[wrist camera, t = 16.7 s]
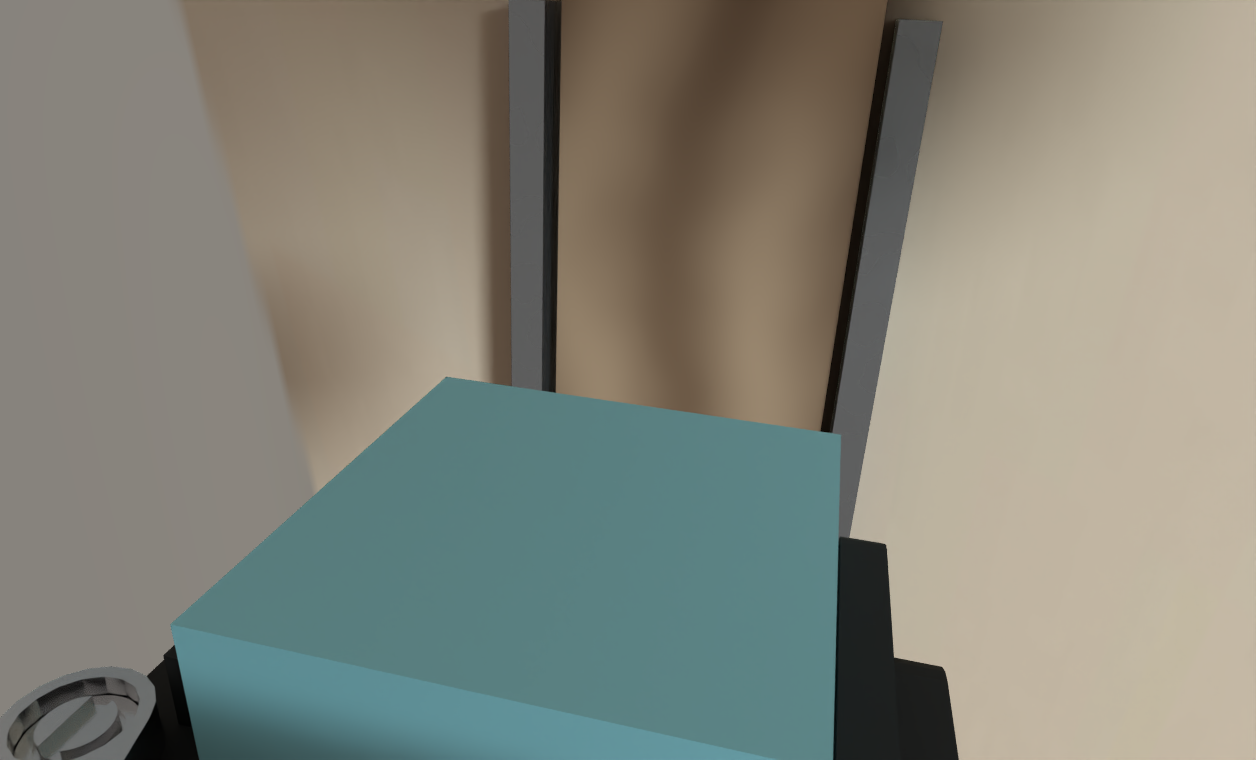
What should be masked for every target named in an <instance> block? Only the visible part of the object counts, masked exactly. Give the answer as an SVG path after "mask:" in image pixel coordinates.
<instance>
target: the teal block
mask: <svg viewBox="0 0 1256 760" xmlns="http://www.w3.org/2000/svg"><path fill="white" fill-rule="evenodd" d="M840 455H841V435H840V434H833V433H826V432H819V431H813V430H806V429H799V428H792V427H785V426H779V425H772V424H765V423H758V422H751V421H744V420H738V419H731V418H724V417H717V416H710V415H703V414H697V413H690V412H683V411H676V410H669V409H663V408H656V407H649V406H642V405H635V404H628V403H622V402H615V401H608V400H601V399H594V398H588V397H581V396H574V395H567V394H560V393H553V392H547V391H540V390H533V389H526V388H519V387H512V386H506V385H499V384H492V383H485V382H478V381H472V380H465V379H458V378H451V377H446V378H445V379H443V380H442V381H441V382H440V383H439V384H438V385H437V386H436V387H435V388H433V389H432V390H431V391H430V392H429V393H428V394H427V395H426V396H424V397H423V398H422V399H421V400H420V401H419V402H418V403H417V404H416V405H414V406H413V407H412V408H411V409H410V410H409V411H408V412H407V413H406V414H404V415H403V416H402V417H401V418H400V419H399V420H398V421H397V422H395V423H394V424H393V425H392V426H391V427H390V428H389V429H388V430H387V431H385V432H384V433H383V434H382V435H381V436H380V437H379V438H378V439H377V440H375V441H374V442H373V443H372V444H371V445H370V446H369V447H368V448H367V449H365V450H364V451H363V452H362V453H361V454H360V455H359V456H358V457H356V458H355V459H354V460H353V461H352V462H351V463H350V464H349V465H348V466H346V467H345V468H344V469H343V470H342V471H341V472H340V473H339V474H338V475H336V476H335V477H334V478H333V479H332V480H331V481H330V482H329V483H327V484H326V485H325V486H324V487H323V488H322V489H321V490H320V491H319V492H317V493H316V494H315V495H314V496H313V497H312V498H311V499H310V500H309V501H307V502H306V503H305V504H304V505H303V506H302V507H301V508H300V509H299V510H297V511H296V512H295V513H294V514H293V515H292V516H291V517H290V518H288V519H287V520H286V521H285V522H284V523H283V524H282V525H281V526H280V527H278V528H277V529H276V530H275V531H274V532H273V533H272V534H271V535H269V536H268V537H267V538H266V539H265V540H264V541H263V542H262V543H261V544H259V545H258V546H257V547H256V548H255V549H254V550H253V551H252V552H251V553H249V554H248V556H246V557H245V558H244V559H243V560H242V561H241V562H239V563H238V564H237V565H236V566H235V567H234V568H233V569H232V570H230V571H229V572H228V573H227V574H226V575H225V576H224V577H223V578H222V579H221V580H219V581H218V582H217V583H216V584H215V585H214V586H213V587H212V588H211V589H209V590H208V591H207V592H206V593H205V594H204V595H203V596H201V597H200V598H199V599H198V600H197V601H196V602H195V603H194V604H193V605H191V606H190V607H189V608H188V609H187V610H186V611H185V612H184V613H183V614H181V615H180V616H179V617H178V618H177V619H176V620H175V621H174V622H172V623H171V630H172V634H173V639H174V644H175V648H176V653H177V658H178V663H179V667H180V672H181V677H182V681H183V686H184V691H185V695H186V700H187V705H188V709H189V714H190V719H191V723H192V728H193V733H194V738H195V742H196V747H197V752H198V756H199V760H833V737H834V697H835V656H836V616H837V576H838V536H839V495H840Z"/></svg>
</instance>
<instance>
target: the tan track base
mask: <svg viewBox="0 0 1256 760" xmlns="http://www.w3.org/2000/svg"><path fill="white" fill-rule="evenodd" d="M887 1H888V0H562V11H561V78H560V146H559V213H558V280H557V348H556V393H560V394H567V395H574V396H581V397H588V398H594V399H601V400H608V401H615V402H622V403H628V404H635V405H642V406H649V407H656V408H663V409H669V410H676V411H683V412H690V413H697V414H703V415H710V416H717V417H724V418H731V419H738V420H744V421H751V422H758V423H765V424H772V425H779V426H785V427H792V428H799V429H806V430H813V431H819V432H820V431H821V424H822V418H823V411H824V405H825V399H826V392H827V386H828V379H829V373H830V366H831V360H832V354H833V347H834V341H835V334H836V328H837V322H838V315H839V309H840V302H841V296H842V290H843V283H844V277H845V270H846V264H847V257H848V251H849V245H850V238H851V232H852V225H853V219H854V213H855V206H856V200H857V193H858V187H859V180H860V174H861V168H862V161H863V155H864V148H865V142H866V136H867V129H868V123H869V116H870V110H871V104H872V97H873V91H874V84H875V78H876V71H877V65H878V59H879V52H880V46H881V39H882V33H883V27H884V20H885V14H886V7H887Z"/></svg>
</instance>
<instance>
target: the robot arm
mask: <svg viewBox="0 0 1256 760" xmlns="http://www.w3.org/2000/svg"><path fill="white" fill-rule="evenodd" d="M0 760H199V756H198V752H197V747H196V742H195V738H194V733H193V728H192V723H191V719H190V714H189V709H188V705H187V700H186V695H185V691H184V686H183V681H182V677H181V672H180V667H179V663H178V658H177V653H176V648H175V645H174V646H173V647H172V648H171V649H170V650H169V651H168V652H167V653H165V654H164V660H163V661H162V662H161V663H160V664H159V665H158V666H157V667H156V668H155V669H154V670H153V671H152V672H151V673H150V674H149V675H148V676H145V675H143V674H141V673H139V672H137V671H135V670H133V669H128V668H119V667H112V666H111V667H101V668H91V669H86V670H82V671H79V672H75V673H71V674H67V675H64V676H62V677H59V678H57V679H55V680H53V681H50V682H49V683H46V684H44V685H42V686H39V687H38V688H36V689H35V690H33V691H32V692H30V693H29V694H27V695H26V696H24V697H23V698H21V699H20V700H18V701H17V702H16V703H15V704H14V705H13V706H12V707H11V708H10V709H8V710H7V712H5V714H3V715H2V716H1V717H0ZM833 760H959V759H958V752H957V745H956V738H955V731H954V724H953V717H952V710H951V703H950V696H949V689H948V682H947V677H946V673H945V671H944V669H943V668H942V667H940V666H935V665H929V664H924V663H919V662H914V661H909V660H904V659H899V658H894V652H893V637H892V621H891V606H890V591H889V575H888V560H887V548H886V545H885V544H882V543H876V542H870V541H864V540H859V539H853V538H847V537H841V536H840V538H839V541H838V576H837V616H836V656H835V697H834V737H833Z"/></svg>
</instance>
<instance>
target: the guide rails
mask: <svg viewBox="0 0 1256 760" xmlns="http://www.w3.org/2000/svg"><path fill="white" fill-rule="evenodd" d="M561 11H562V1H544V0H509V106H510V230H511V353H512V387H519V388H526V389H533V390H540V391H547V392H553V393H556V348H557V280H558V213H559V146H560V78H561ZM942 23H943V21H926V20H907V19H896V23H895V30H894V36H893V42H892V48H891V54H890V61H889V67H888V73H887V79H886V86H885V92H884V98H883V104H882V110H881V117H880V123H879V129H878V135H877V141H876V148H875V154H874V160H873V166H872V173H871V179H870V185H869V191H868V197H867V204H866V210H865V216H864V222H863V228H862V235H861V241H860V247H859V253H858V260H857V266H856V272H855V278H854V284H853V291H852V297H851V303H850V309H849V315H848V322H847V328H846V334H845V340H844V347H843V353H842V359H841V365H840V371H839V378H838V384H837V390H836V396H835V402H834V409H833V415H832V421H831V427H830V433H833V434H840V435H841V455H840V495H839V536H838V541H839V538H840V536H841V537H847V538H849V536H850V530H851V525H852V519H853V514H854V508H855V503H856V497H857V492H858V486H859V481H860V475H861V470H862V464H863V459H864V453H865V448H866V442H867V436H868V431H869V425H870V420H871V414H872V409H873V403H874V398H875V392H876V387H877V381H878V376H879V370H880V365H881V359H882V354H883V348H884V343H885V337H886V332H887V326H888V321H889V315H890V310H891V304H892V299H893V293H894V288H895V282H896V277H897V271H898V266H899V260H900V255H901V249H902V244H903V238H904V233H905V227H906V222H907V216H908V211H909V205H910V200H911V194H912V189H913V183H914V177H915V172H916V166H917V161H918V155H919V150H920V144H921V139H922V133H923V128H924V122H925V117H926V111H927V106H928V100H929V95H930V89H931V84H932V78H933V73H934V67H935V62H936V56H937V51H938V45H939V40H940V34H941V29H942Z"/></svg>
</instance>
